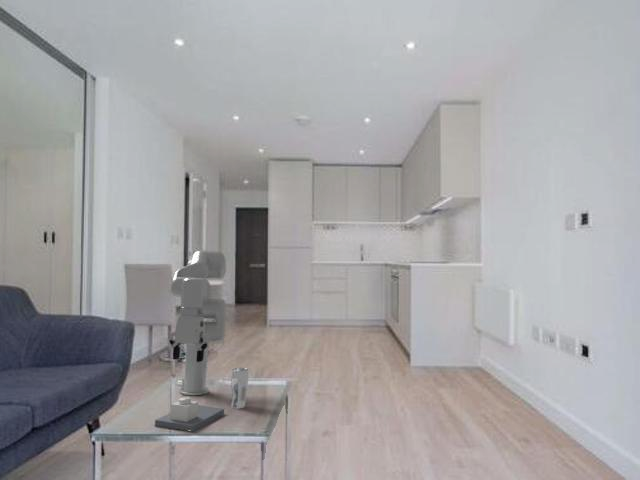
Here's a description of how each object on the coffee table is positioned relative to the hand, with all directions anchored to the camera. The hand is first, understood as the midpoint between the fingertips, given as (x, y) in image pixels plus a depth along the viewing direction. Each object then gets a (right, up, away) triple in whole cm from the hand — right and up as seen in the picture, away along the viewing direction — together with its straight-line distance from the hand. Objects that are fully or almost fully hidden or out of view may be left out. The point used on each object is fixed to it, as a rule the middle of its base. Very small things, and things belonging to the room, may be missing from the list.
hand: (187, 360), depth 162 cm
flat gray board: (0, -23, +3) cm, 23 cm away
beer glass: (+14, -25, +21) cm, 36 cm away
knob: (-1, -20, -2) cm, 20 cm away
